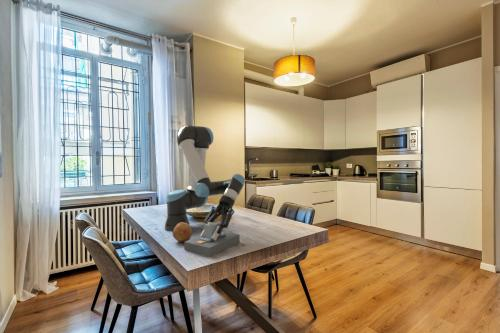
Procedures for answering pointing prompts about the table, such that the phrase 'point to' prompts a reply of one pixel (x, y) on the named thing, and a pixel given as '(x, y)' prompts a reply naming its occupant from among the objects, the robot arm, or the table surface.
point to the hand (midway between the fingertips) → (207, 238)
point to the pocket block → (211, 244)
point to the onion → (182, 232)
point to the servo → (211, 232)
